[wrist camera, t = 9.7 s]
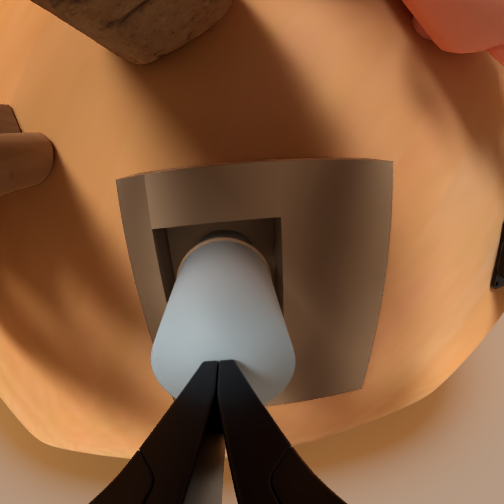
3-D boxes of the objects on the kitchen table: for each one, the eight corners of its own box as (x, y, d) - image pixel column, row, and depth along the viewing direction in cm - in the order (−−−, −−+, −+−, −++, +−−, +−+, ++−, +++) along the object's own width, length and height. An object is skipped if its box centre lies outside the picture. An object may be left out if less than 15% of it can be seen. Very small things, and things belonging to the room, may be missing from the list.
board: (364, 157, 14) (392, 161, 11) (347, 360, 19) (361, 388, 16) (137, 173, 13) (115, 179, 10) (182, 379, 18) (178, 410, 15)
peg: (262, 218, 14) (301, 298, 6) (266, 292, 15) (295, 406, 8) (180, 225, 14) (129, 311, 6) (191, 298, 15) (168, 414, 8)
